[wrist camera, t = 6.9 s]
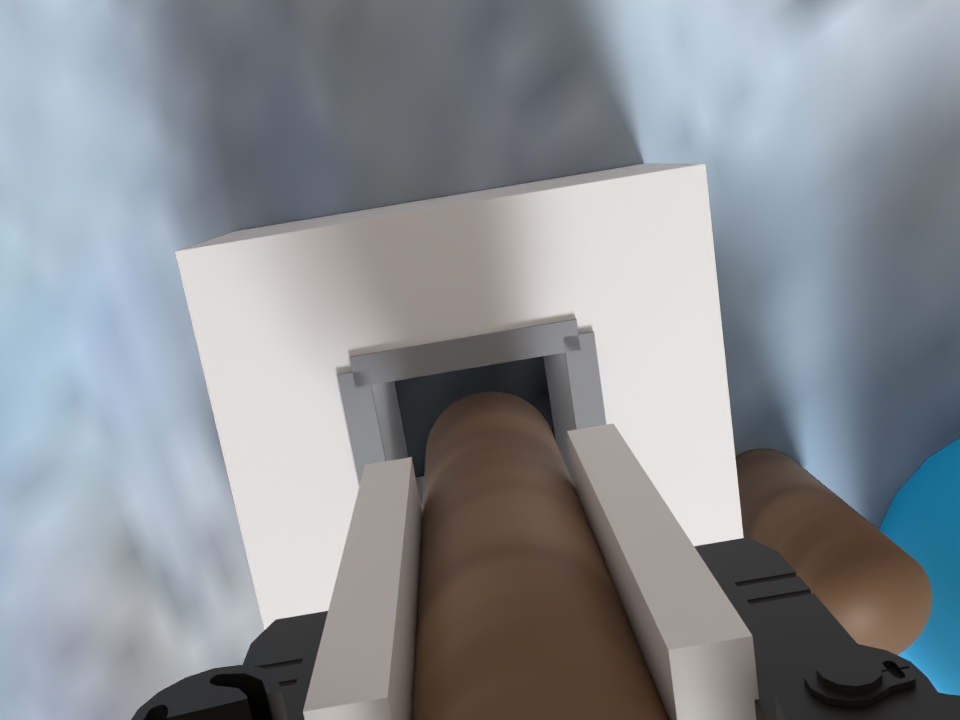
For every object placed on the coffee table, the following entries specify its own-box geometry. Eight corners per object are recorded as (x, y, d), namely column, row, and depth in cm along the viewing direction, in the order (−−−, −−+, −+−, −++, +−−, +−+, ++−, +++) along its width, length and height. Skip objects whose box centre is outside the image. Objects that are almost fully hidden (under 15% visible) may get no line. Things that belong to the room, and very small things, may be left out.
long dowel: (437, 525, 18) (420, 2064, 3) (415, 403, 18) (282, 1628, 3) (563, 503, 18) (1077, 1944, 3) (545, 381, 18) (1068, 1488, 3)
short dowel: (715, 548, 24) (808, 675, 18) (706, 457, 23) (799, 557, 17) (810, 533, 24) (934, 654, 18) (804, 441, 23) (929, 535, 17)
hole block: (317, 607, 24) (285, 725, 19) (234, 231, 21) (173, 252, 16) (689, 543, 24) (755, 644, 19) (644, 163, 22) (707, 163, 17)
